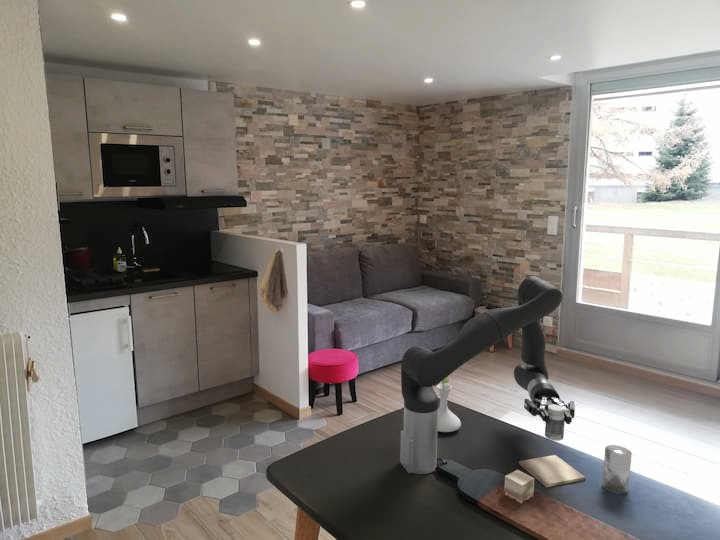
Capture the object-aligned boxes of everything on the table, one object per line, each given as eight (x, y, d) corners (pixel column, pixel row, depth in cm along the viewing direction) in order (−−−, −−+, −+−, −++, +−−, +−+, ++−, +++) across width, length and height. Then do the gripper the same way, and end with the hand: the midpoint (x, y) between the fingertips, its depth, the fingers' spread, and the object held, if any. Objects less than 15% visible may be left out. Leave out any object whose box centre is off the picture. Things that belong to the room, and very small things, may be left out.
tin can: (614, 495, 127) (618, 458, 126) (596, 482, 133) (599, 446, 131) (633, 491, 129) (637, 454, 128) (615, 479, 135) (618, 443, 133)
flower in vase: (441, 416, 172) (443, 344, 168) (468, 428, 163) (471, 353, 159) (414, 427, 163) (415, 352, 160) (440, 440, 155) (443, 361, 151)
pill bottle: (566, 441, 134) (568, 411, 133) (548, 441, 135) (550, 411, 133) (559, 432, 139) (561, 403, 138) (542, 432, 139) (544, 403, 138)
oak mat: (546, 487, 131) (546, 484, 131) (518, 463, 142) (519, 461, 142) (585, 479, 134) (585, 477, 134) (555, 457, 146) (555, 454, 145)
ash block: (521, 504, 124) (522, 485, 123) (504, 494, 128) (505, 476, 127) (533, 497, 127) (534, 478, 126) (516, 487, 131) (517, 469, 130)
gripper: (567, 407, 150) (585, 435, 133) (517, 405, 151) (529, 432, 135) (569, 383, 148) (587, 408, 132) (518, 381, 150) (530, 405, 133)
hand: (558, 420), depth 133 cm, fingers closed on pill bottle, 4 cm apart
